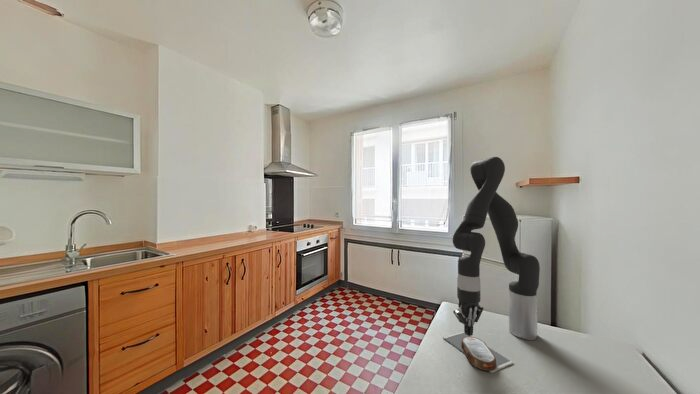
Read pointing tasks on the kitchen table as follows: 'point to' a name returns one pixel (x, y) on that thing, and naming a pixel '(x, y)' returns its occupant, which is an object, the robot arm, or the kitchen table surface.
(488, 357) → the tin
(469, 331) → the robot arm
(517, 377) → the kitchen table surface
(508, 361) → the mat
